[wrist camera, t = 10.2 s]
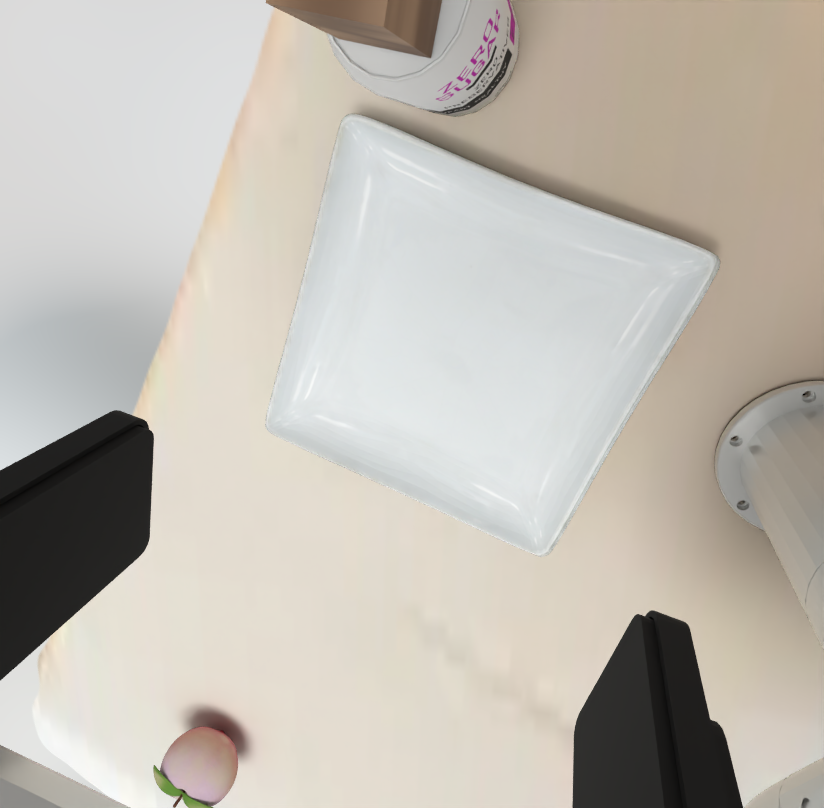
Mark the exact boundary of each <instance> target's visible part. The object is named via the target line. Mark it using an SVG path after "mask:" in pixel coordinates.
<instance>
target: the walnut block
mask: <svg viewBox="0 0 824 808" xmlns="http://www.w3.org/2000/svg"><path fill="white" fill-rule="evenodd" d="M266 3H268V4H269V5H271V6H273V7H275V8H277V9H279V10H281V11H284V12H286V13H288V14H290V15H292V16H294V17H296V18H298V19H300V20H302V21H304V22H306V23H308V24H310V25H312V26H314V27H316V28H318V29H320V30H322V31H324V32H326V33H328V34H330V35H332V36H334V37H336V38H338V39H341V40H346V41H351V42H355V43H360V44H365V45H370V46H374V47H379V48H384V49H389V50H393V51H398V52H403V53H407V54H412V55H417V56H422V57H426V58H431V56H432V51H433V45H434V40H435V35H436V30H437V24H438V19H439V14H440V9H441V3H442V0H266Z"/></svg>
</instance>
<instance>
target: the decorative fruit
mask: <svg viewBox="0 0 824 808" xmlns="http://www.w3.org/2000/svg"><path fill="white" fill-rule="evenodd" d="M237 769H238V757H237V751H236V747H235V745H234V743H233V742H232V740H231V739H230V738H229V737H228V736H227V735H225V733H224V732H223V731H218V730H215V729H213V728H210V727H197V728H194V729H191V730H189V731H187V732H186V733H184V734H183V735H181V736H180V737H179V738H177V739H176V740H175V741H174V743H173V744H172V745H171V746H170V748H169V749H168V751H167V753H166V754H165V756H164V759H163V761H162V764H161V768H160V771H159V770H158V769H157V768H156V766H155V765H154V769H153V770H154V777H155V780H156V783H157V785H158V786H159V788H160V789H161V790H162V791H163V792H164V793H166V794H168V795H170V796H171V797H173V798H176V799H177V801H176V802H175V804H174V805H173V807H174V808H175V807H176V806H177V804H178V803H179V801H180V800H181V799H183V800H184V803H185V804H186V806H187V807H188V808H213V807H211V806H213V805H216V804H217V803H218V802H220V801H221V800H222V799H223V798H224V797H225V796H226V794H227V793H228V792H229V791H230V789H231V787H232V786H233V784H234V781H235V778H236V775H237Z"/></svg>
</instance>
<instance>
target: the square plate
mask: <svg viewBox="0 0 824 808" xmlns="http://www.w3.org/2000/svg"><path fill="white" fill-rule="evenodd" d="M719 267H720V259H719V257H718V256H716V255H715V254H713V253H711V252H710V251H708V250H705V249H703V248H701V247H699V246H696V245H694V244H691V243H689V242H686V241H684V240H681V239H679V238H676V237H673V236H670V235H667V234H665V233H662V232H659V231H656V230H653V229H650V228H648V227H645V226H642V225H639V224H636V223H633V222H630V221H627V220H624V219H621V218H619V217H616V216H613V215H610V214H607V213H604V212H602V211H599V210H596V209H593V208H590V207H587V206H584V205H582V204H579V203H576V202H573V201H571V200H568V199H565V198H563V197H560V196H557V195H555V194H552V193H549V192H546V191H544V190H541V189H539V188H536V187H533V186H531V185H528V184H526V183H523V182H521V181H518V180H516V179H513V178H511V177H508V176H506V175H503V174H501V173H498V172H496V171H494V170H491V169H489V168H486V167H484V166H482V165H479V164H477V163H475V162H472V161H470V160H468V159H465V158H463V157H461V156H458V155H456V154H454V153H452V152H449V151H447V150H445V149H442V148H440V147H438V146H436V145H433V144H431V143H429V142H426V141H424V140H422V139H420V138H417V137H415V136H413V135H410V134H408V133H406V132H404V131H401V130H399V129H397V128H394V127H392V126H389V125H387V124H384V123H382V122H379V121H377V120H374V119H372V118H369V117H366V116H362V115H359V114H349V115H346V116H345V117H344V118H343V120H342V122H341V124H340V127H339V131H338V134H337V138H336V142H335V145H334V149H333V153H332V157H331V160H330V165H329V170H328V174H327V178H326V183H325V187H324V191H323V196H322V200H321V204H320V209H319V213H318V217H317V221H316V225H315V230H314V234H313V238H312V242H311V246H310V250H309V255H308V259H307V263H306V267H305V271H304V275H303V279H302V283H301V287H300V291H299V294H298V298H297V302H296V306H295V310H294V313H293V318H292V321H291V324H290V329H289V332H288V336H287V339H286V343H285V347H284V351H283V354H282V358H281V361H280V365H279V368H278V372H277V376H276V380H275V384H274V388H273V392H272V395H271V399H270V403H269V407H268V411H267V416H266V424H265V425H266V428H267V430H268V431H269V432H270V433H271V434H273V435H275V436H277V437H279V438H281V439H283V440H285V441H287V442H289V443H291V444H294V445H296V446H298V447H300V448H302V449H304V450H306V451H308V452H311V453H313V454H315V455H317V456H319V457H322V458H324V459H326V460H328V461H330V462H333V463H335V464H337V465H339V466H342V467H344V468H346V469H348V470H350V471H353V472H355V473H357V474H359V475H361V476H364V477H366V478H368V479H370V480H372V481H374V482H377V483H379V484H381V485H383V486H385V487H388V488H390V489H392V490H394V491H397V492H399V493H401V494H403V495H405V496H407V497H410V498H412V499H414V500H416V501H418V502H420V503H423V504H425V505H427V506H429V507H431V508H433V509H436V510H438V511H440V512H442V513H444V514H446V515H448V516H450V517H452V518H455V519H457V520H459V521H461V522H463V523H465V524H467V525H469V526H472V527H474V528H476V529H478V530H480V531H482V532H485V533H487V534H489V535H491V536H493V537H495V538H497V539H499V540H502V541H504V542H506V543H508V544H510V545H513V546H515V547H517V548H519V549H522V550H524V551H527V552H529V553H531V554H534V555H536V556H539V557H542V556H547V555H548V554H549V553H550V552H551V551H552V550H553V548H554V547H555V545H556V544H557V542H558V541H559V539H560V537H561V536H562V534H563V532H564V531H565V529H566V527H567V525H568V524H569V522H570V520H571V518H572V517H573V515H574V513H575V511H576V510H577V508H578V506H579V504H580V503H581V501H582V499H583V497H584V495H585V494H586V492H587V490H588V488H589V486H590V485H591V483H592V481H593V479H594V478H595V476H596V474H597V473H598V471H599V469H600V467H601V465H602V464H603V462H604V460H605V458H606V457H607V455H608V453H609V451H610V450H611V448H612V446H613V445H614V443H615V441H616V440H617V438H618V436H619V434H620V433H621V431H622V429H623V428H624V426H625V424H626V422H627V421H628V419H629V418H630V416H631V414H632V413H633V411H634V409H635V408H636V406H637V404H638V403H639V401H640V399H641V398H642V396H643V394H644V393H645V391H646V389H647V388H648V386H649V385H650V383H651V381H652V380H653V378H654V377H655V375H656V373H657V372H658V370H659V369H660V367H661V365H662V364H663V362H664V361H665V359H666V357H667V356H668V354H669V352H670V351H671V349H672V348H673V346H674V344H675V343H676V341H677V340H678V338H679V336H680V335H681V333H682V332H683V330H684V328H685V327H686V325H687V323H688V322H689V320H690V318H691V317H692V315H693V314H694V312H695V310H696V309H697V307H698V305H699V304H700V302H701V300H702V299H703V297H704V295H705V293H706V292H707V290H708V288H709V286H710V285H711V283H712V281H713V279H714V277H715V276H716V274H717V272H718V270H719Z"/></svg>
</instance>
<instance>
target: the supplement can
mask: <svg viewBox="0 0 824 808" xmlns="http://www.w3.org/2000/svg"><path fill="white" fill-rule="evenodd" d="M327 36H328V38H329V41H330V44H331V47H332V50H333V53H334V55H335V57H336V58H337V59H338V61H339V62H340V63H341V65H342V66H343V67H344V69H345V70H346V71H347V73H348V74H349V75H350V76H351V78H352V79H353V80H354V81H356V82H357V83H359V84H360V85H362V86H364V87H365V88H367V89H368V90H370V91H372V92H373V93H375V94H376V95H379V96H382V97H385V98H388V99H391V100H395V101H398V102H401V103H404V104H407V105H411V106H414V107H417V108H420V109H423V110H427V111H430V112H433V113H437V114H443V115H448V116H454V117H456V116H461V115H465V114H469V113H474V112H477V111H478V110H480V109H481V108H482V107H484V106H485V105H487V104H488V103H490V102H491V101H493V100H494V99H495V98H496V97H497V95H498V94H499V93H500V92H501V90H502V89H503V88H504V86H505V85H506V84H507V82H508V81H509V79H510V76H511V74H512V71H513V68H514V65H515V63H516V60H517V57H518V44H519V28H518V24H517V20H516V17H515V13H514V9H513V6H512V4H511V1H510V0H442V3H441V9H440V14H439V19H438V24H437V30H436V35H435V40H434V45H433V51H432V56H431V58H426V57H422V56H417V55H412V54H407V53H403V52H398V51H393V50H389V49H384V48H379V47H374V46H370V45H365V44H360V43H355V42H351V41H346V40H341V39H338V38H336V37H334V36H332V35H330V34H328V33H327Z"/></svg>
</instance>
